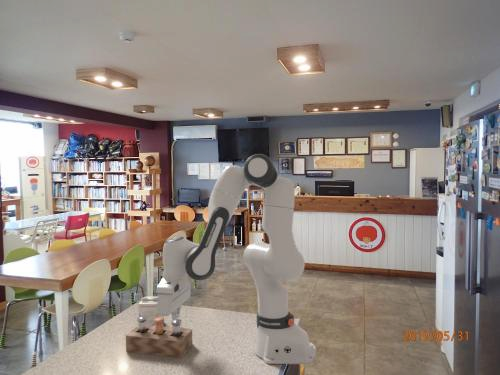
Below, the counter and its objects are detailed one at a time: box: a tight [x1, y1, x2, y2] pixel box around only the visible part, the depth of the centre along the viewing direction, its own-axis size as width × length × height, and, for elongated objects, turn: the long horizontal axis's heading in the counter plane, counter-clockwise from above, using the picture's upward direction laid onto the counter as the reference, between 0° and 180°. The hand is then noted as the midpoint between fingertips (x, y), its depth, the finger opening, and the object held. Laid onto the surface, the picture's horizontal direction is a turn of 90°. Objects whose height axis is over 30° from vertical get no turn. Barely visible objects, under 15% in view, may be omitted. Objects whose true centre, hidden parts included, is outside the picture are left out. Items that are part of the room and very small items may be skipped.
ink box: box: [137, 296, 165, 325], centre depth 154 cm, size 9×8×13 cm
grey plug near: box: [170, 318, 182, 337], centre depth 134 cm, size 4×4×6 cm
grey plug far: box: [136, 316, 147, 333], centre depth 138 cm, size 4×4×6 cm
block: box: [125, 324, 193, 359], centre depth 136 cm, size 22×10×6 cm, turn 76°
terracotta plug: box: [154, 317, 165, 335], centre depth 136 cm, size 4×4×6 cm
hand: (175, 318), depth 134 cm, fingers closed
